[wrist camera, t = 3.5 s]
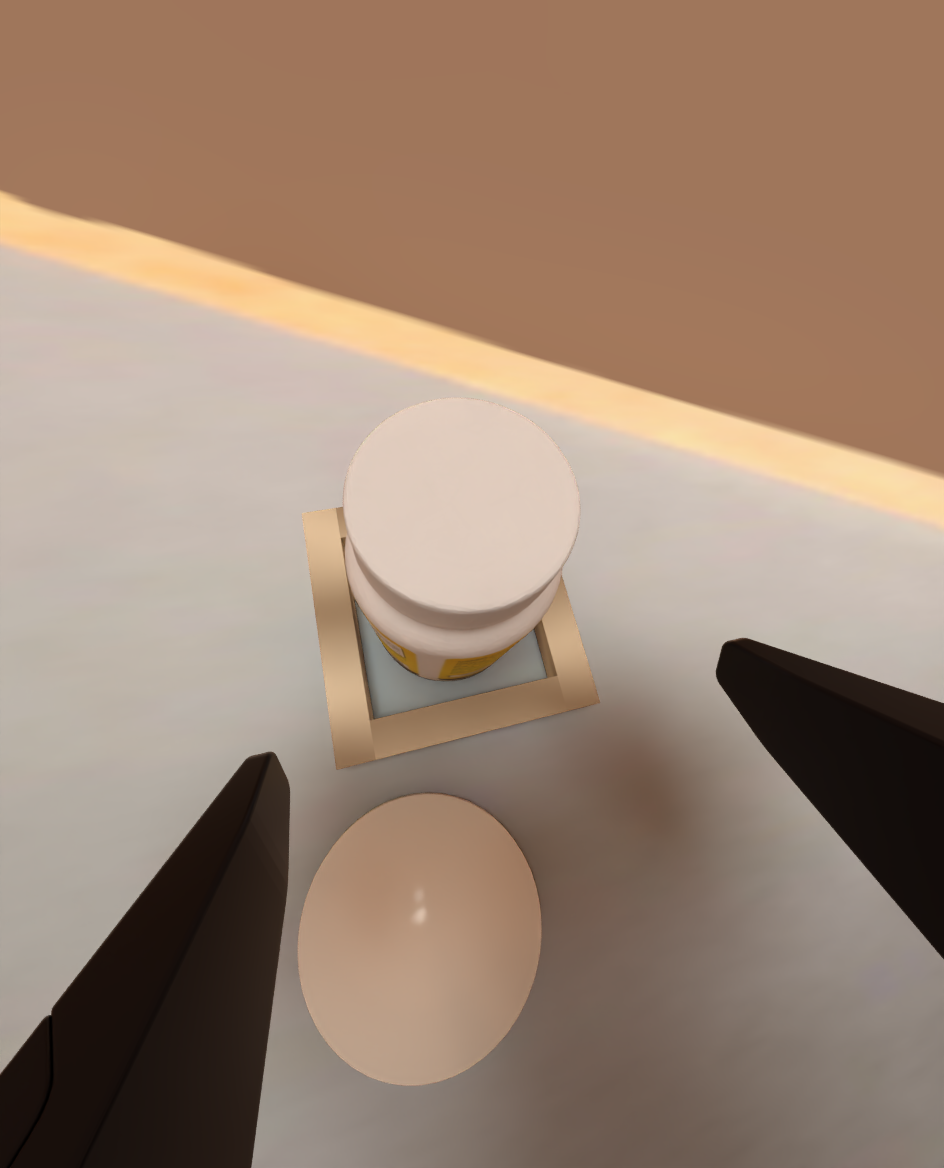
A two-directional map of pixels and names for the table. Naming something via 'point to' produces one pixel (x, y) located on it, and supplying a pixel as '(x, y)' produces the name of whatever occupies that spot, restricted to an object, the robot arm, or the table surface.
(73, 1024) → the robot arm
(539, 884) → the table surface
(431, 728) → the pocket frame
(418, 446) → the supplement bottle
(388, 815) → the coaster
